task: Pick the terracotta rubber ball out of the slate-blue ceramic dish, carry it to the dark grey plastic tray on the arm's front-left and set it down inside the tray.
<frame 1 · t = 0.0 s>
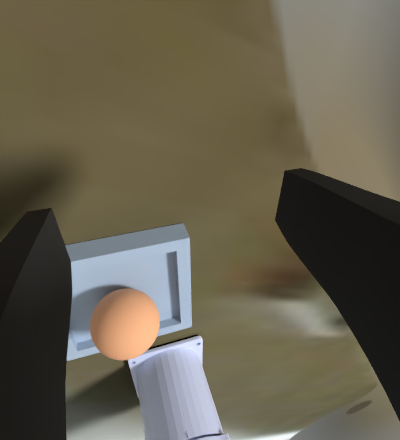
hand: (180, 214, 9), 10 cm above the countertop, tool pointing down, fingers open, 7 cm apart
dish: (121, 287, 25), on the countertop
ball: (122, 296, 24), point 1 cm above the countertop, touching dish
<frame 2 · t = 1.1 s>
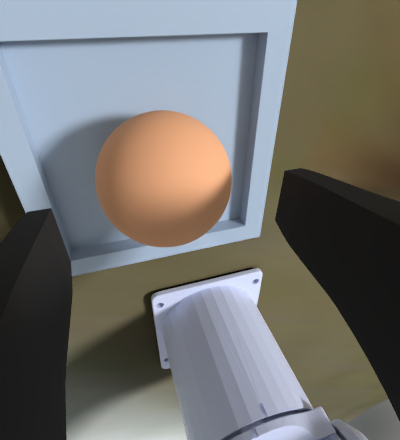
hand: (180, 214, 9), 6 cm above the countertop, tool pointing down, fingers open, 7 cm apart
dish: (149, 144, 14), on the countertop
ball: (153, 153, 13), point 1 cm above the countertop, touching dish
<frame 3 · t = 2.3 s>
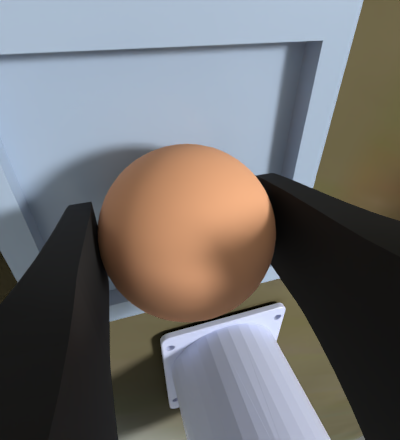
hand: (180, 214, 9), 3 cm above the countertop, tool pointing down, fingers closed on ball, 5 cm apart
dish: (163, 175, 11), on the countertop
ball: (168, 188, 11), point 1 cm above the countertop, touching dish, gripper
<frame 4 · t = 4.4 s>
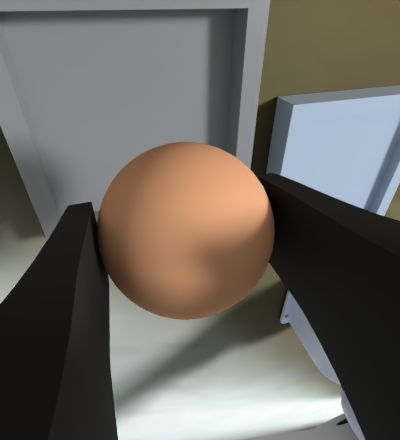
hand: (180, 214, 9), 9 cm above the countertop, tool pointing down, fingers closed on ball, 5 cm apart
dish: (330, 165, 23), on the countertop
ball: (169, 187, 11), point 8 cm above the countertop, touching gripper
tray: (138, 118, 16), on the countertop
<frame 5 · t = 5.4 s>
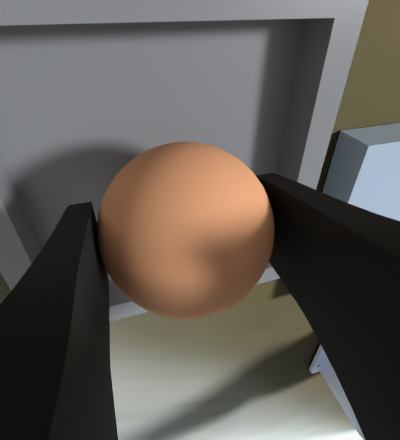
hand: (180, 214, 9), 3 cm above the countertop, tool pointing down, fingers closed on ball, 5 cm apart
dish: (390, 208, 18), on the countertop
ball: (169, 186, 11), point 2 cm above the countertop, touching gripper
tray: (158, 165, 12), on the countertop
when the fingers open (3 cm above the countertop, at t = 6.3 s): ball stays where it is, resting on tray.
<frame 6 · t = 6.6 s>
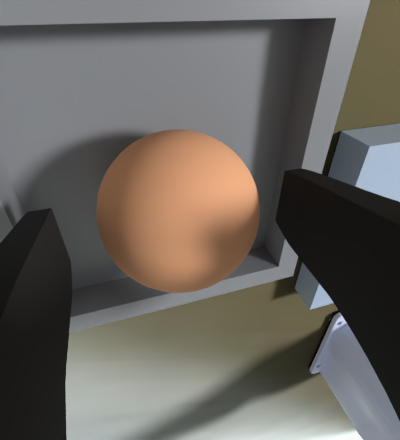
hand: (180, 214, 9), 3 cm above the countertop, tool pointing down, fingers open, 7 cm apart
dish: (390, 208, 18), on the countertop
ball: (164, 174, 11), point 1 cm above the countertop, touching tray
tray: (159, 166, 12), on the countertop
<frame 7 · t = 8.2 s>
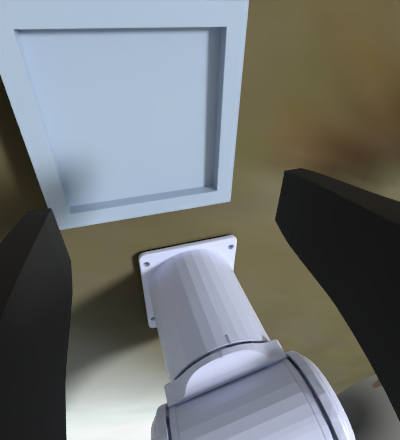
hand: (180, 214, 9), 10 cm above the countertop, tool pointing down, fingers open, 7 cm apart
dish: (135, 118, 17), on the countertop
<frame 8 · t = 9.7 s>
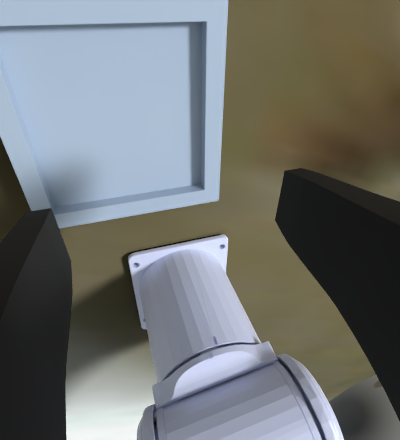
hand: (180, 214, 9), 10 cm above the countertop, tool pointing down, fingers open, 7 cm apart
dish: (118, 117, 17), on the countertop
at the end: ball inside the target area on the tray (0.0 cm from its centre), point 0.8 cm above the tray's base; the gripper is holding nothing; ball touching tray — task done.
